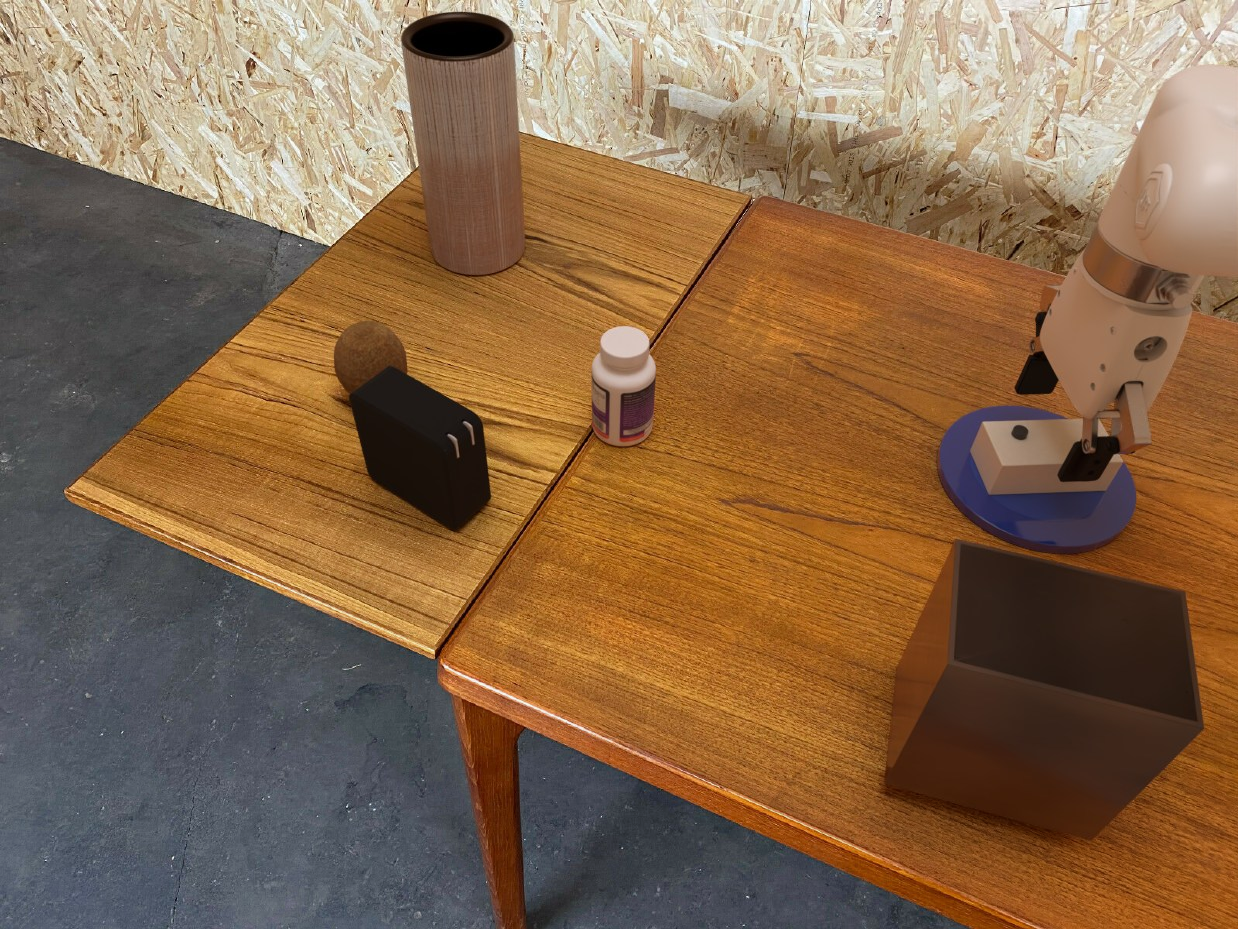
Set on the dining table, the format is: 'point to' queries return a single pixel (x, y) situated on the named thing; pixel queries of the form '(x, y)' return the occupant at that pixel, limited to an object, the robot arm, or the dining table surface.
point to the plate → (1031, 495)
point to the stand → (1042, 690)
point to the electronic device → (422, 446)
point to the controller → (1032, 456)
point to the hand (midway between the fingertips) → (1053, 433)
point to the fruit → (366, 353)
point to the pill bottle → (623, 387)
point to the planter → (467, 138)
